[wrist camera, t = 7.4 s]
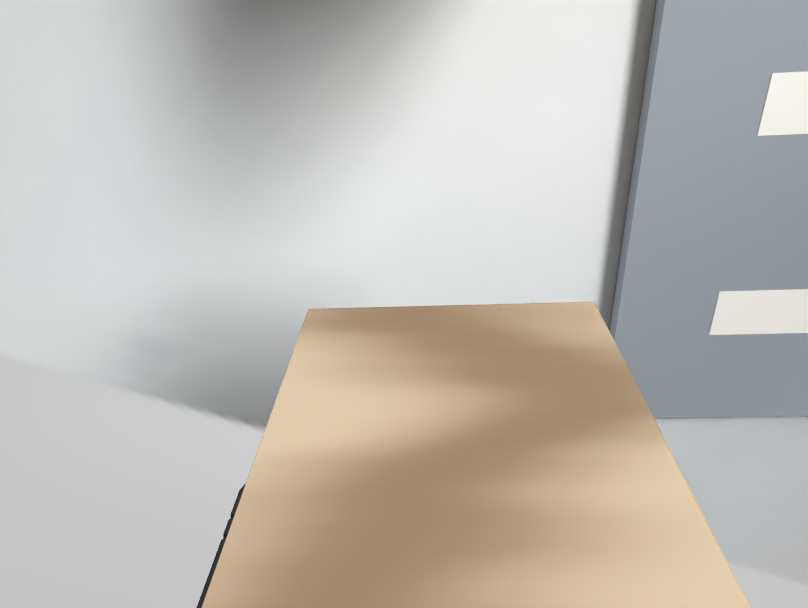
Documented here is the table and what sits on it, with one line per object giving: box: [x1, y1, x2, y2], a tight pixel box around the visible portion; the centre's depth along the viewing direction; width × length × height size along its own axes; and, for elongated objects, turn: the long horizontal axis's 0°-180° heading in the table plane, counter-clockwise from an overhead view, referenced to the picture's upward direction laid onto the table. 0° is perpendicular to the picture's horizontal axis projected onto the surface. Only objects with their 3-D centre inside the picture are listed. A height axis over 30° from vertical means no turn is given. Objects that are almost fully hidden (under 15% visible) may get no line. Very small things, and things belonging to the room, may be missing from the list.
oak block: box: [202, 302, 751, 608], centre depth 9 cm, size 5×7×6 cm
